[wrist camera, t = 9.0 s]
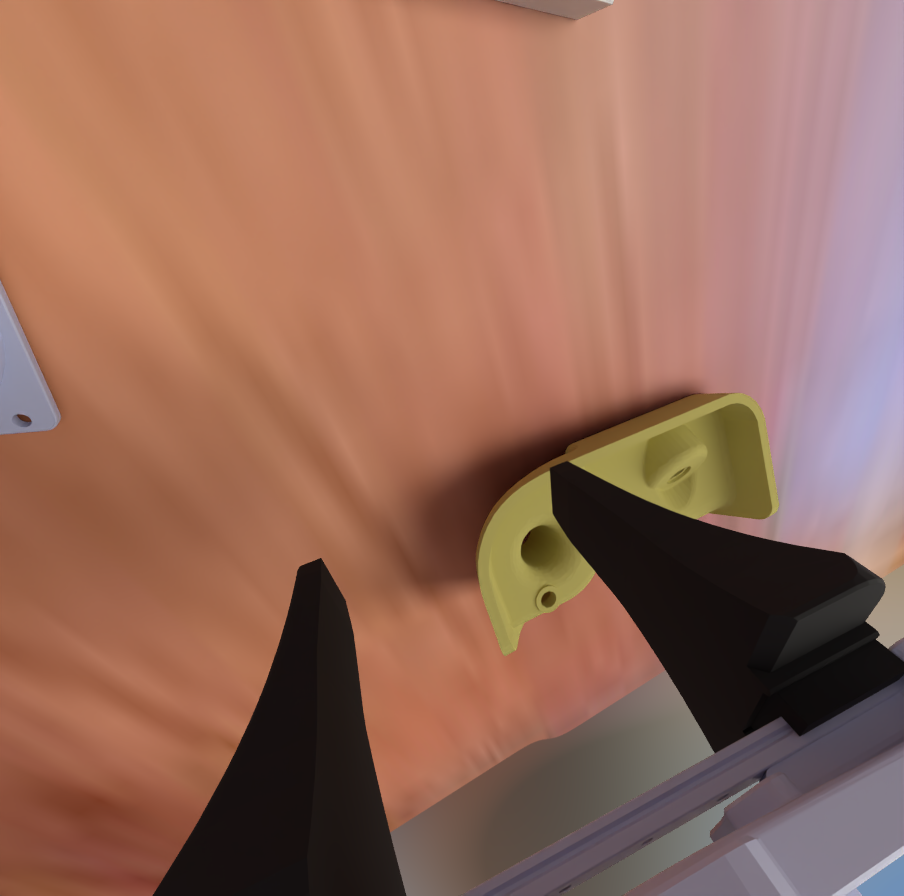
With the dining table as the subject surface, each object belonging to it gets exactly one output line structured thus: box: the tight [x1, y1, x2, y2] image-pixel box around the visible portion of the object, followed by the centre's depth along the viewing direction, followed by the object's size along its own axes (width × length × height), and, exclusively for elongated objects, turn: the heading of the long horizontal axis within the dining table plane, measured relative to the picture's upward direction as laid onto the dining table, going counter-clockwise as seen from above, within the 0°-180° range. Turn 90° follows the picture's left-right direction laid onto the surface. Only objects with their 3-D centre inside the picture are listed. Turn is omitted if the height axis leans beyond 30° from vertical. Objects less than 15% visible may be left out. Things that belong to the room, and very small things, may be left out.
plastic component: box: [476, 393, 779, 656], centre depth 28 cm, size 20×7×10 cm
